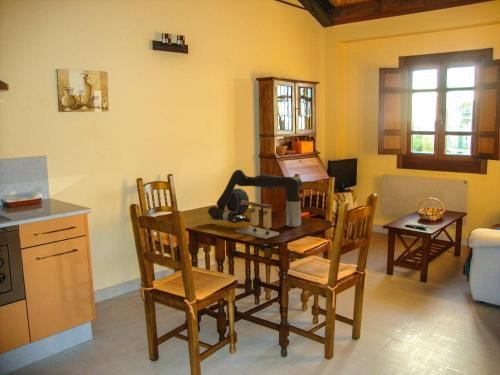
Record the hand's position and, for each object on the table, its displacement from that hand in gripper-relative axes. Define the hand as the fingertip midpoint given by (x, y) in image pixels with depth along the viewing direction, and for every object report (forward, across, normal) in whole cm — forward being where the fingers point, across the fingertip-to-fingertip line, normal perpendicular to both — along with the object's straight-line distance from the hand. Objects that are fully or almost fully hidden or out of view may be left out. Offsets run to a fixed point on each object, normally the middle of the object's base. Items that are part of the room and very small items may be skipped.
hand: (249, 220), depth 303 cm
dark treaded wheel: (-44, +32, +8) cm, 55 cm away
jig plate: (+7, 0, +8) cm, 10 cm away
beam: (+6, 0, -10) cm, 12 cm away
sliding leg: (+5, 0, +6) cm, 8 cm away
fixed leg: (+16, 0, +6) cm, 17 cm away
